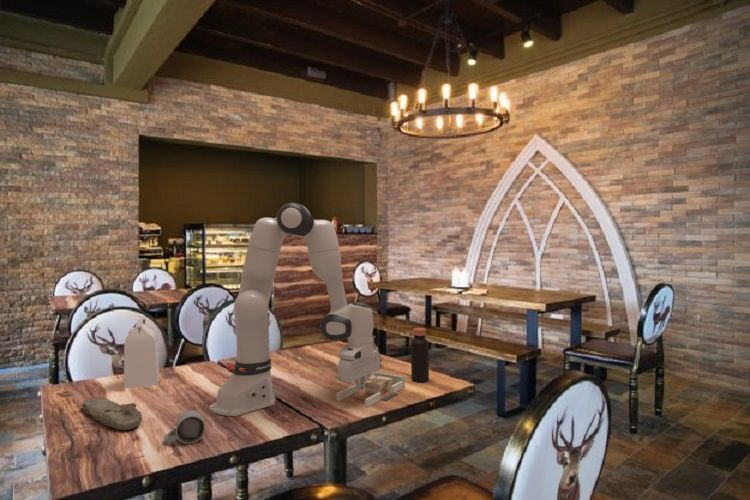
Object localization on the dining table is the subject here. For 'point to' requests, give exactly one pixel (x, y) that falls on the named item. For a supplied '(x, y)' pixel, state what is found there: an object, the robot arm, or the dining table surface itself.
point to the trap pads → (389, 396)
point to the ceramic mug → (187, 428)
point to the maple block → (378, 385)
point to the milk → (140, 357)
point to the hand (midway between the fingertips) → (360, 389)
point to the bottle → (419, 356)
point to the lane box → (397, 385)
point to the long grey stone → (113, 413)
